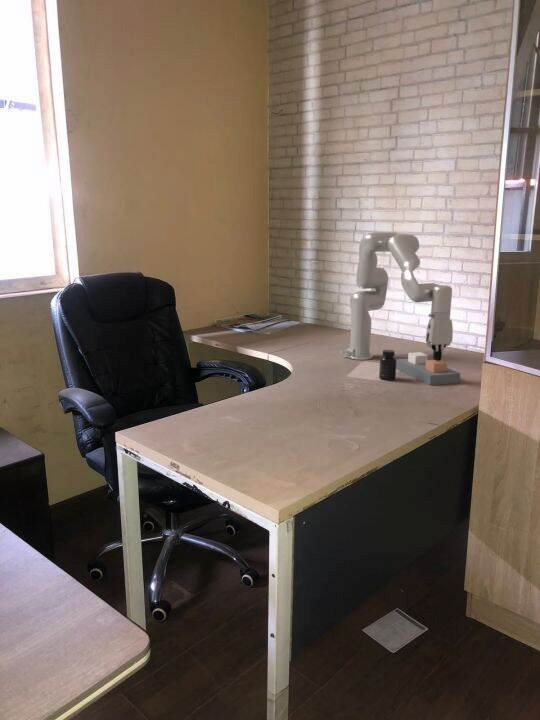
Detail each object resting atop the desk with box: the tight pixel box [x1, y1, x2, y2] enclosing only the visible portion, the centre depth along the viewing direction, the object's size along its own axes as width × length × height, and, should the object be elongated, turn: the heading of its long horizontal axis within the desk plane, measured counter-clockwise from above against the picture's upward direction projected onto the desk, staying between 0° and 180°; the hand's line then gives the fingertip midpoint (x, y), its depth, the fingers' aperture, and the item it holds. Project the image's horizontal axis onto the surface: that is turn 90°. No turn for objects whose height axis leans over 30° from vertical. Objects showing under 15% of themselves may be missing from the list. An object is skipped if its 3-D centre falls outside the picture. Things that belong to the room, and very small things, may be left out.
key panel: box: [396, 358, 461, 386], centre depth 247 cm, size 14×28×4 cm, turn 18°
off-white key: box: [407, 351, 429, 364], centre depth 253 cm, size 6×6×5 cm
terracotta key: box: [425, 359, 448, 373], centre depth 240 cm, size 6×6×5 cm
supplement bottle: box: [378, 349, 397, 382], centre depth 240 cm, size 7×7×12 cm
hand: (436, 360), depth 239 cm, fingers closed
